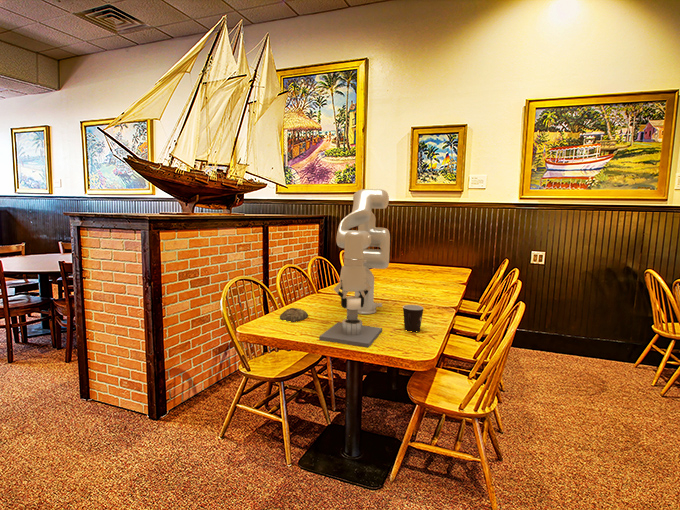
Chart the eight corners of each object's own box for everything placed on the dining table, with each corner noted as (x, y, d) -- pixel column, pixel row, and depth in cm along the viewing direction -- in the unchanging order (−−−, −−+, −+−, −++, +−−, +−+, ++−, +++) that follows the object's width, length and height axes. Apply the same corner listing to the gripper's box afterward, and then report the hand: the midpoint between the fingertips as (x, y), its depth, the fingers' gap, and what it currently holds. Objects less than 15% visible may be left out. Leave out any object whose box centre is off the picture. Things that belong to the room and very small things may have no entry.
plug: (356, 315, 153) (357, 295, 152) (363, 320, 147) (363, 299, 146) (341, 317, 151) (342, 296, 150) (347, 321, 145) (348, 300, 144)
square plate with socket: (338, 325, 163) (338, 312, 162) (382, 331, 156) (382, 317, 155) (319, 340, 145) (319, 325, 144) (368, 347, 137) (369, 331, 137)
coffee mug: (411, 325, 165) (412, 303, 163) (426, 330, 158) (427, 308, 157) (393, 330, 157) (393, 307, 156) (408, 336, 151) (409, 312, 150)
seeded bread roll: (311, 317, 175) (311, 307, 175) (294, 324, 165) (294, 313, 164) (291, 313, 182) (291, 303, 182) (273, 319, 172) (273, 308, 171)
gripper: (369, 261, 153) (368, 303, 155) (329, 262, 147) (329, 306, 149) (377, 263, 146) (376, 307, 148) (336, 264, 140) (335, 310, 142)
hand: (352, 306), depth 148 cm, fingers closed on plug, 6 cm apart
